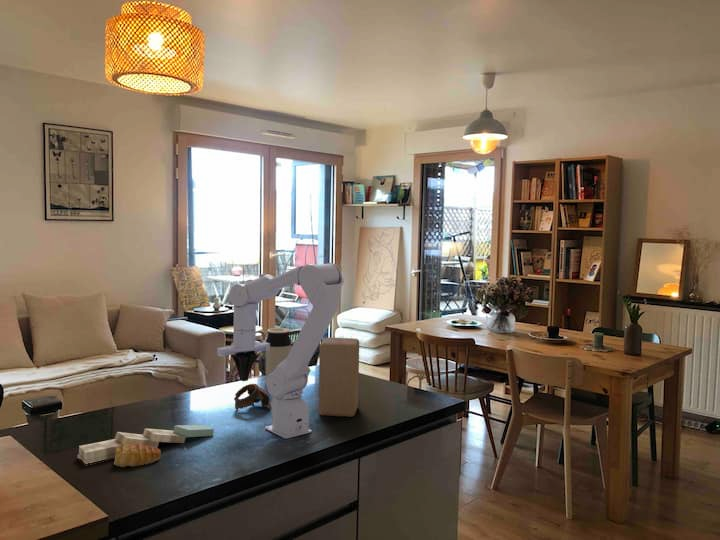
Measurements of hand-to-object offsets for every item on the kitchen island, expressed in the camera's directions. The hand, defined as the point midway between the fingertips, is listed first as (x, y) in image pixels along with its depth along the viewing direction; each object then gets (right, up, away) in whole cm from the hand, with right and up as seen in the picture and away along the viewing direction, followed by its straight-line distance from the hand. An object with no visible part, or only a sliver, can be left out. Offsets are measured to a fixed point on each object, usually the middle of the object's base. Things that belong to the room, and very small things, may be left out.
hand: (243, 380), depth 155 cm
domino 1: (-23, -10, -24) cm, 35 cm away
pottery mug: (+1, -10, +9) cm, 14 cm away
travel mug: (+4, -8, +36) cm, 37 cm away
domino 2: (-23, -12, -24) cm, 35 cm away
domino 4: (-12, -11, -16) cm, 22 cm away
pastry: (-18, -12, -29) cm, 36 cm away
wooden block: (+25, -11, +9) cm, 28 cm away
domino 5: (-7, -10, -11) cm, 17 cm away
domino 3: (-17, -11, -19) cm, 28 cm away
